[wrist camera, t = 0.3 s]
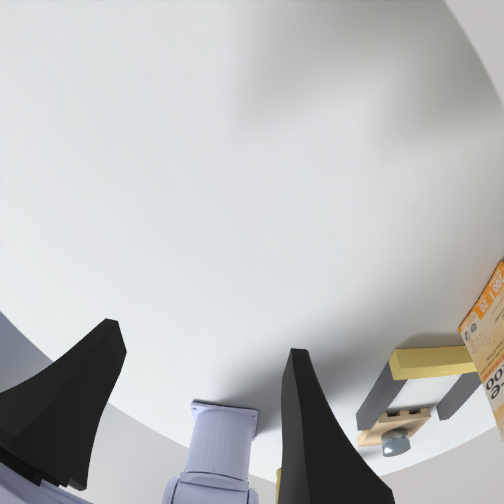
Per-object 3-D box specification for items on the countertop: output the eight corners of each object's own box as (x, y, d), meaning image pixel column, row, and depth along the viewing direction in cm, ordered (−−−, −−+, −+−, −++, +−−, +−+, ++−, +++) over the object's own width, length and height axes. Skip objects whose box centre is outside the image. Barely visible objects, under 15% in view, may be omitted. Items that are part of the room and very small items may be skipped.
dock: (444, 405, 31) (448, 418, 29) (355, 414, 32) (357, 430, 30) (493, 342, 24) (501, 357, 22) (394, 348, 25) (400, 368, 23)
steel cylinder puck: (399, 437, 33) (403, 454, 30) (376, 440, 33) (379, 458, 31) (411, 425, 31) (415, 444, 28) (387, 428, 31) (390, 447, 29)
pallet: (403, 430, 36) (406, 441, 34) (357, 435, 36) (358, 446, 34) (427, 404, 32) (430, 416, 30) (376, 410, 32) (378, 423, 30)
